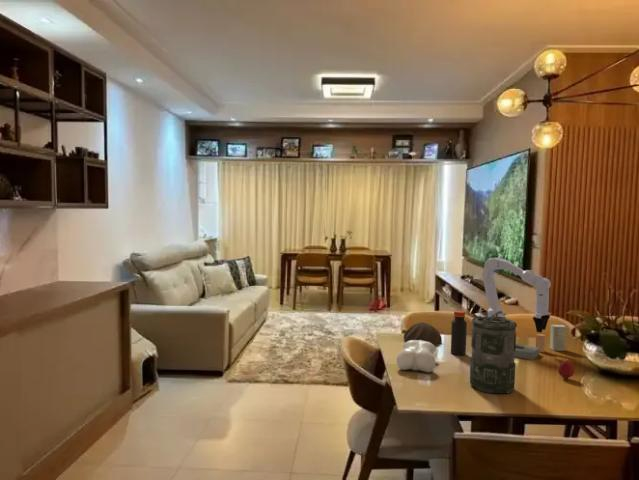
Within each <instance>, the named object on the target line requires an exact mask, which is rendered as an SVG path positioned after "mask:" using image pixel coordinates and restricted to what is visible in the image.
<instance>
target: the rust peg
mask: <svg viewBox="0 0 639 480" xmlns="http://www.w3.org/2000/svg"><path fill="white" fill-rule="evenodd" d="M535 335H536V337H535V347H537V348H539V353H542V352H543V353H544V352H545V350H546V349H545V347H546V334H541V333H537V334H535Z"/></svg>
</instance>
